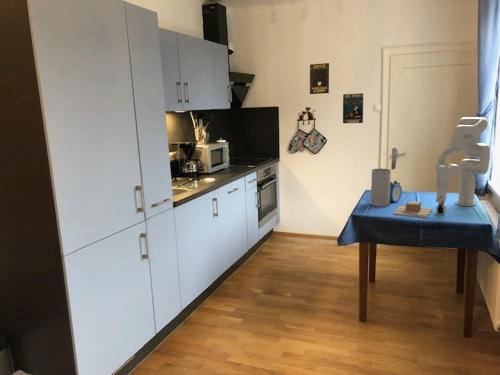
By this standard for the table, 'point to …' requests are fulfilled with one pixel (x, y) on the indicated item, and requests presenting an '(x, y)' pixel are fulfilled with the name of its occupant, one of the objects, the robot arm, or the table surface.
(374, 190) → the cylinder vase
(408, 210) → the build board
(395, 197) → the alarm clock
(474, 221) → the table surface
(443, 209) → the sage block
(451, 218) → the table surface
